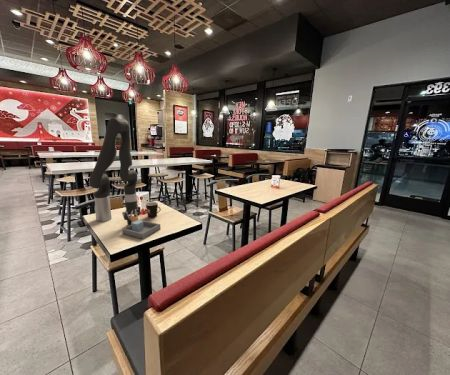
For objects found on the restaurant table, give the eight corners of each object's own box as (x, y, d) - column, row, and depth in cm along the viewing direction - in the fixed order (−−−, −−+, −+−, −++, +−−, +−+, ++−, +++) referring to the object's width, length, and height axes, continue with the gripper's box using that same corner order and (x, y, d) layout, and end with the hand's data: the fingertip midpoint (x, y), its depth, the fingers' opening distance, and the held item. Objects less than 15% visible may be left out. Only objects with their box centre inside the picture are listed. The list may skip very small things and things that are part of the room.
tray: (122, 234, 132) (122, 229, 131) (141, 224, 146) (141, 220, 145) (142, 239, 126) (142, 234, 125) (160, 229, 140) (160, 224, 139)
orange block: (127, 225, 145) (126, 218, 144) (133, 222, 150) (132, 215, 149) (132, 226, 143) (132, 219, 142) (138, 223, 148) (137, 217, 147)
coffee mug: (144, 215, 162) (143, 203, 160) (155, 213, 168) (155, 201, 165) (150, 220, 154) (149, 207, 151) (162, 217, 159) (161, 205, 157)
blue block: (131, 230, 136) (131, 222, 135) (137, 227, 140) (137, 220, 139) (138, 231, 134) (137, 224, 133) (143, 228, 138) (143, 221, 137)
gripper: (134, 196, 150) (136, 219, 154) (117, 202, 137) (120, 226, 141) (143, 197, 148) (144, 220, 152) (126, 203, 135) (128, 228, 139)
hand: (132, 223), depth 146 cm, fingers closed on orange block, 5 cm apart
